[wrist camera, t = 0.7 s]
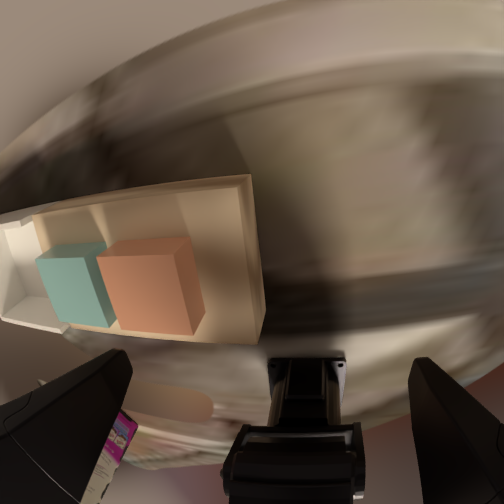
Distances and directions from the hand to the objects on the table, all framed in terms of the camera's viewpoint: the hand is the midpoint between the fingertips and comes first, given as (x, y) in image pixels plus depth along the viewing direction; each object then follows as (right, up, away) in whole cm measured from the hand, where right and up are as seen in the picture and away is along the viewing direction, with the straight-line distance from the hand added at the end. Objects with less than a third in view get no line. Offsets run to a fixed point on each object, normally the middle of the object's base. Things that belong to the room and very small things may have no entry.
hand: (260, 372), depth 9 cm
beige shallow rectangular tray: (-8, +4, +14) cm, 16 cm away
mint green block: (-12, +2, +11) cm, 16 cm away
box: (-21, +3, +17) cm, 27 cm away
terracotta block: (-6, +2, +10) cm, 12 cm away
